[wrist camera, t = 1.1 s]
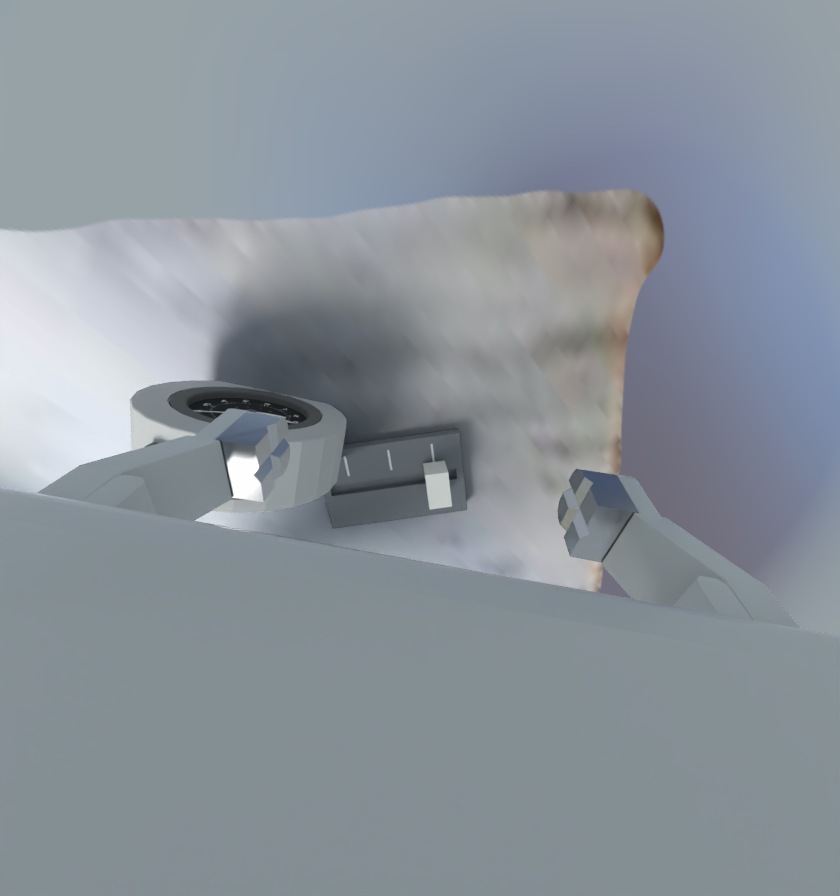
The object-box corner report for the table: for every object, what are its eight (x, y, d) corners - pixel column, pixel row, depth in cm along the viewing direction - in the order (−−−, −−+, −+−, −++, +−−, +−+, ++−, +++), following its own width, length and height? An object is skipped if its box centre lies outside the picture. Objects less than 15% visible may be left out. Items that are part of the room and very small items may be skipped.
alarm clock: (355, 408, 49) (327, 462, 30) (346, 458, 51) (315, 536, 33) (193, 374, 46) (53, 410, 28) (191, 427, 49) (62, 494, 30)
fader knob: (447, 488, 52) (452, 506, 47) (426, 491, 52) (429, 509, 47) (443, 457, 50) (448, 472, 45) (422, 460, 50) (424, 475, 45)
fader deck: (464, 503, 54) (467, 510, 52) (335, 521, 54) (332, 528, 52) (457, 428, 50) (459, 433, 48) (317, 448, 50) (313, 453, 48)
